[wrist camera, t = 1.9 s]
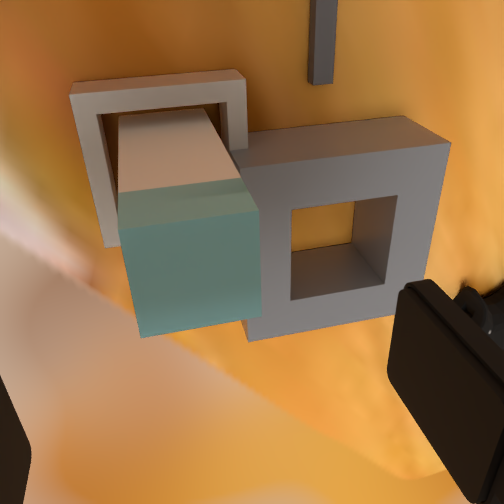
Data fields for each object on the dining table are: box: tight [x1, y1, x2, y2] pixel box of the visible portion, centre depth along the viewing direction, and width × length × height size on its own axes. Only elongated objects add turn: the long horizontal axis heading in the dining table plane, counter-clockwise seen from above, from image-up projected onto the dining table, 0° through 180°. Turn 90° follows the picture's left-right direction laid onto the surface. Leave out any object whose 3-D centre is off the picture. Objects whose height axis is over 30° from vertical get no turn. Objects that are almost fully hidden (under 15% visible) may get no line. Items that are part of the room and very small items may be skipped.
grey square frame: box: [69, 69, 248, 248], centre depth 20 cm, size 7×7×2 cm
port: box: [230, 116, 451, 342], centre depth 23 cm, size 9×9×4 cm
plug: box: [118, 108, 262, 338], centre depth 17 cm, size 4×4×10 cm
